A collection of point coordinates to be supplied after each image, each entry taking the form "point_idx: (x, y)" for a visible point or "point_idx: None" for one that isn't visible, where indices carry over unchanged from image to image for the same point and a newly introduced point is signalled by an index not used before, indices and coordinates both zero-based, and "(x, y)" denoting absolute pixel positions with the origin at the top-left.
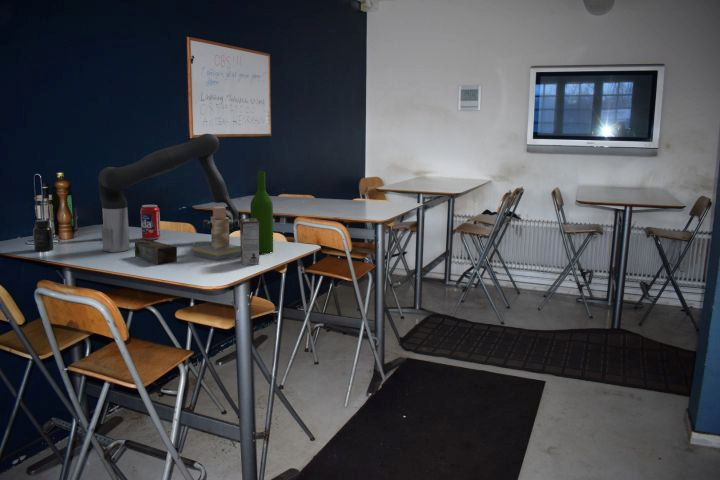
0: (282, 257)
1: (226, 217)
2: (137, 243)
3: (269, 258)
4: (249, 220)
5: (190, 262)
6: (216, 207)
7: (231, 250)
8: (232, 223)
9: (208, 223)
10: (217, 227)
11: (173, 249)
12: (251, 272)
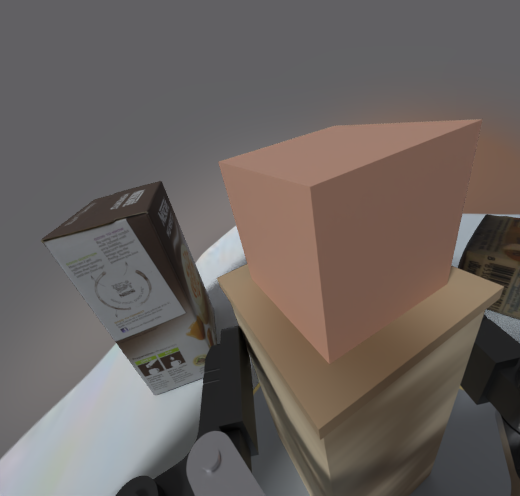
0: (28, 456)
1: (253, 304)
2: None
3: (97, 421)
4: (117, 199)
5: None
6: (365, 132)
7: (257, 384)
8: (207, 394)
9: (510, 350)
10: None
11: (464, 250)
12: (196, 264)
